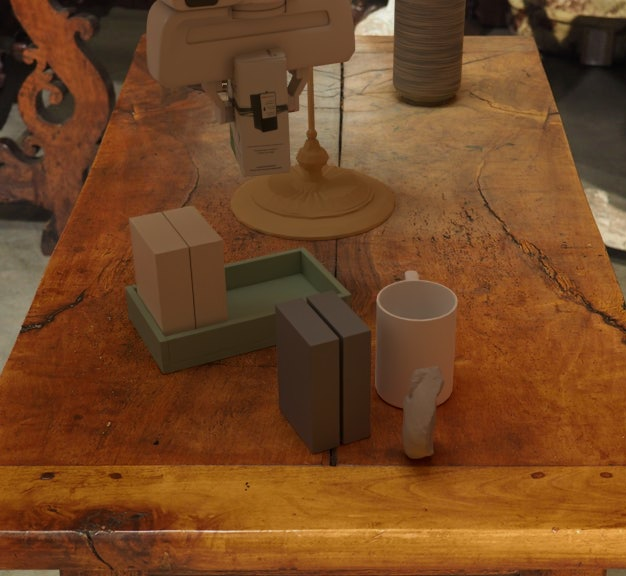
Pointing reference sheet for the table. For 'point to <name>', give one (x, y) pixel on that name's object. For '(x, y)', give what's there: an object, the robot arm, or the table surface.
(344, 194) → the desk lamp
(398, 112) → the table surface
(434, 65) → the vase
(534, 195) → the table surface
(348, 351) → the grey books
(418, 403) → the fossil
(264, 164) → the ink box
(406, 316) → the mug
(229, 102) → the robot arm
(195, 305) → the cream books
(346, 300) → the book trough
